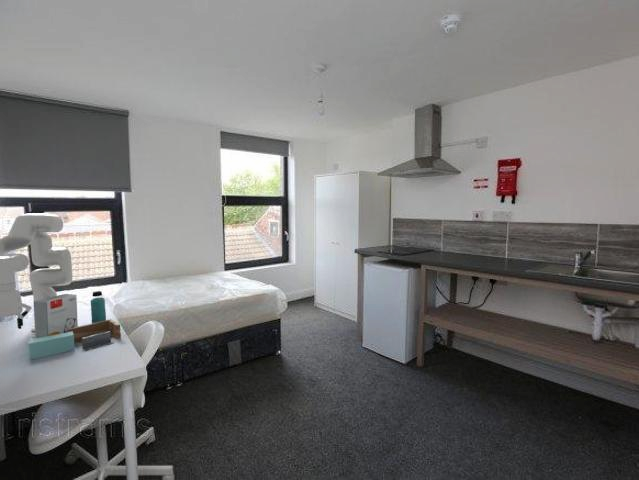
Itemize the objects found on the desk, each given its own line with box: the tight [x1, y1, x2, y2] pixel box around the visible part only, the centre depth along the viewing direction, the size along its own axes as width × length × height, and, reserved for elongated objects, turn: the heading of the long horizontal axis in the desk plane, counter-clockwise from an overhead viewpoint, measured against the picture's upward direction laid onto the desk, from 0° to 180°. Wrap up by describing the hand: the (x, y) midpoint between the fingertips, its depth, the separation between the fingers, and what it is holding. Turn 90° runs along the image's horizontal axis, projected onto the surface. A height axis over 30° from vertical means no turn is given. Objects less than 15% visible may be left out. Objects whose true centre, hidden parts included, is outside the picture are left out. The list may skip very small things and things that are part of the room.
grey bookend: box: [81, 331, 115, 352], centre depth 149 cm, size 5×11×4 cm, turn 141°
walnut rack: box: [67, 319, 122, 344], centre depth 154 cm, size 12×18×7 cm
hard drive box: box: [33, 293, 79, 339], centre depth 158 cm, size 16×8×20 cm, turn 168°
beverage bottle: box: [90, 290, 107, 324], centre depth 169 cm, size 6×7×20 cm
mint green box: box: [28, 331, 76, 360], centre depth 141 cm, size 6×15×7 cm, turn 132°
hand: (6, 330), depth 130 cm, fingers open, 7 cm apart
